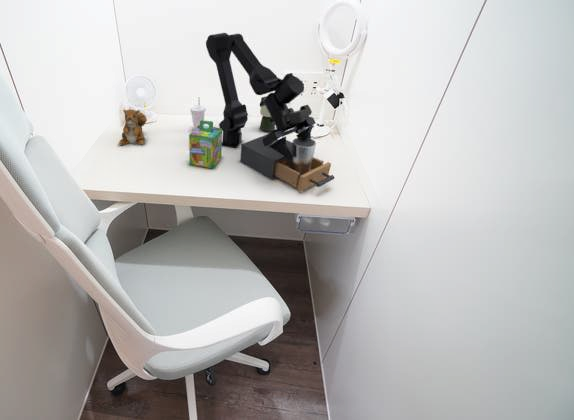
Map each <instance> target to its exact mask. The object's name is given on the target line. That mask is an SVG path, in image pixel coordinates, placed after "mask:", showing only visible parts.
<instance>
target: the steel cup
mask: <svg viewBox="0 0 574 420" xmlns="http://www.w3.org/2000/svg"><path fill="white" fill-rule="evenodd" d="M316 145H317V142H316V140H315V139H312V138H311V139H310V138H305V137H300V138H298V137H295V138H294V139H293V140H292V149H291V155H292V158H293V159H292V160H291V161H290V162H289V168H291V169H293V170H295V171H297V172H299V173H300V176H301V175H303V174H305V173H307V172H309V171H310V170H311V165H312V161H313V157H314V156H315V150H316ZM300 176H299V179H300Z"/></svg>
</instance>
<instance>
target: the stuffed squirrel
mask: <svg viewBox="0 0 574 420" xmlns="http://www.w3.org/2000/svg"><path fill="white" fill-rule="evenodd" d="M122 111H123V114H124V120H123V122H122V123H123V124H124V126H123V127H122V131H123V132H122V133H121V138H122V139H120V140H119V142H118V145H119V146H125V145H127V144H138V145H141V146H143V145H145V143H146V137H145V135H144V132H143V126H145V124H146V123H147V122H148V118H147V117H146V115H145V114H144V113H143V112H141V110H140V109H138V110H135V109H125V108H124V109H122Z"/></svg>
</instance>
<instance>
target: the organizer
mask: <svg viewBox="0 0 574 420" xmlns="http://www.w3.org/2000/svg"><path fill="white" fill-rule="evenodd" d="M266 135H267V134H264V135H262V136H259V137H256V138H254V139H251V140H249V141H246V142H243V143H240V144H241V145H240V146H241V147H240V160H239V161H240V163H242V164H243V165H245V166H247V167H249V168H250V169H252V170H254V171H256V172H257V173H260V174H261V175H262V176H265V178H266V177H267V178H268V179H270V180H274V179H277V177H276V176H275V175H274V169H275V162H277V161H280V160H282V159H284V158H286V157H284V156H283V155H282V154H280V153H279V152H277V151H276V150H274V149H273V148H269V147H268V146H270V145H268V146H266V147H265V146H264V144H263V137H264V136H266ZM292 143H293V141H290V140H287V139H286V144H287V146H288V149H289V151H290V153H291V149H292Z"/></svg>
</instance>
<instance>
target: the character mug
mask: <svg viewBox="0 0 574 420" xmlns="http://www.w3.org/2000/svg"><path fill="white" fill-rule="evenodd" d="M259 114H260V115H261V120H260V125H259V130H262V131H265V132H271V131H273V130H276V126H275V124H274V122H273V123H271V122H270V120H271V119H272V118H271V116H270V114H269V112H268V110H267V108H266V106H265V105H264V106H261V107H260V111H259Z"/></svg>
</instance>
